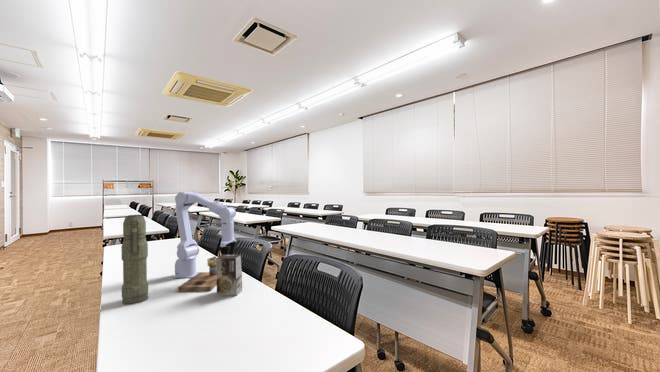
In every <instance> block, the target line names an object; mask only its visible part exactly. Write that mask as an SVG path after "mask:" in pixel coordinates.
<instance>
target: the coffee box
mask: <svg viewBox="0 0 660 372" xmlns="http://www.w3.org/2000/svg"><path fill="white" fill-rule="evenodd" d="M242 256H243V255H242V254H233V255H219V256H218V257H216V274H217V285H216V296H232V297H233V296H238V295H239V294H240V293H241V292H242V291H243V267H242V266H243V264H242V263H243V260H242V258H243V257H242Z"/></svg>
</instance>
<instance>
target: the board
mask: <svg viewBox="0 0 660 372" xmlns="http://www.w3.org/2000/svg"><path fill="white" fill-rule="evenodd" d="M198 272H199V273H198V274H197V275H195V276H194V277H192V278H189V279H188V280H186V281H185V282H184V283H182V284H180V285H179V286H178V287H177V290H178V293H179V292H181V293H185V292H211V291H212V290H213V289H214V288H215V287H217V275H215V276H210V275H209V272H208V271H205V272H204V271H203V272H200V271H198Z"/></svg>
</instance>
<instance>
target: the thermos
mask: <svg viewBox="0 0 660 372" xmlns="http://www.w3.org/2000/svg"><path fill="white" fill-rule="evenodd" d="M122 226H123V227H122V229H123V230H122V234H123V235H122V236H123V240H122V241H123V242H122V244H121V245H120V246H121V250H120V251H121V261H122V279H123V281H122V286H121V298H122V301H121V302H122V305H126V306H129V305H130V306H131V305H132V306H133V305H137V304H140V303H143V302H145V301H148V299H149V283H148V278H147V277H148V275H147V273H148V270H147V267H148V266H147V258H148V256H149V247H148V246H149V243H148V241H147V236H146V234H147V221H146V218H145V217H144V215H142V214H132V215H131V214H130V215H127V216H125V218H124V220H123V224H122Z"/></svg>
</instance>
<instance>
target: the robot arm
mask: <svg viewBox="0 0 660 372" xmlns="http://www.w3.org/2000/svg"><path fill="white" fill-rule="evenodd" d="M174 201H175V208H174V209H175V214H176V215H175V216H176V221H177V228H178V232H179V239H180V241H179V243H178V244H177V246H176V248H177V249H176V256H177V259H175V263H174V277H173V278H174V279H179V278H182V279H185V278H186V279H188V278H189V279H191V278H192V277H194V276H195V275H197V274H198V273H199V272H200V271H197V257H198V254H199V252H200V248H199V245H198V244H197V241H196V240H195V239H193V235H192V229H191V224H190V223H191V222H190V216H189V212H188V210H189V209H190V208H191V207H192V206H193V205H194V204H196V203H198V204H200V205H202V206H204V207H206V208H207V209H208V211H209V212H212V213H213V214H216V215H218V217H219V219H220V222H221V241H220V245H218V246H217V247H218V250H219V252H220V254H221V255H234V254H235V253H234V252H235V248H236V246H237V243H238V242H237V239H235V236H234V235H235V233H234V232H235V231H234V229H235V226H234V225H235V223H234V222H235V221H234V219H235V217H236V215H237V214H236V212H237V211H236V209H235V208H234V207H233V206H228V205H226V204H222V203H220V200H213V201H212V200H210V199H208V198H207V197H205V196H203V195H202V194H200V193H199V192H196V191H180V192H178V193H177V194H176V195H175V196H174ZM221 255H220V256H221Z"/></svg>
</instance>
